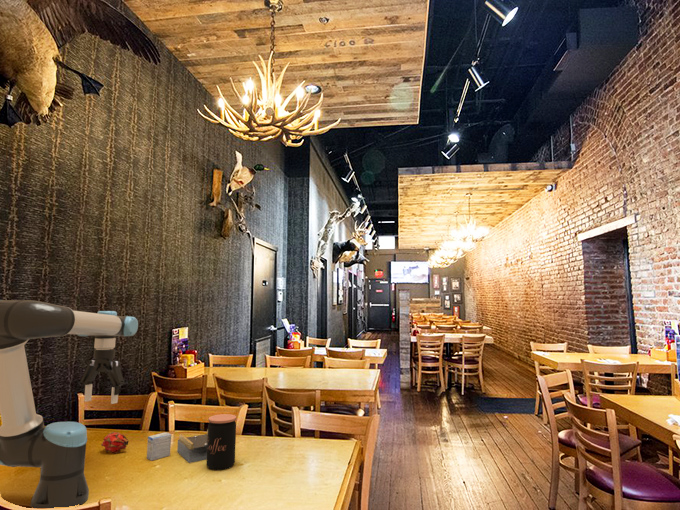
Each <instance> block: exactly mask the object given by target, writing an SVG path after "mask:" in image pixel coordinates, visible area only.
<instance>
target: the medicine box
mask: <svg viewBox="0 0 680 510" xmlns="http://www.w3.org/2000/svg"><path fill="white" fill-rule="evenodd" d="M171 445H172V434H171V433H169V432H161V433H156V434H153V435H149V436H147V447H146V448H147V449H146V459H147V460H149V461H151V462H152V461H156V460H159V459H162V458H166V457H170V456H171Z"/></svg>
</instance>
